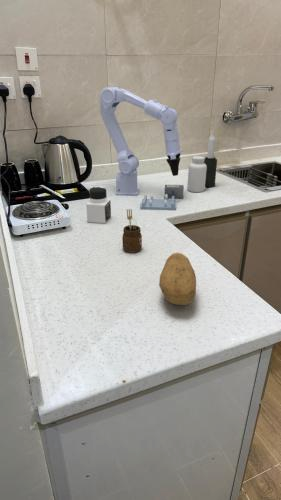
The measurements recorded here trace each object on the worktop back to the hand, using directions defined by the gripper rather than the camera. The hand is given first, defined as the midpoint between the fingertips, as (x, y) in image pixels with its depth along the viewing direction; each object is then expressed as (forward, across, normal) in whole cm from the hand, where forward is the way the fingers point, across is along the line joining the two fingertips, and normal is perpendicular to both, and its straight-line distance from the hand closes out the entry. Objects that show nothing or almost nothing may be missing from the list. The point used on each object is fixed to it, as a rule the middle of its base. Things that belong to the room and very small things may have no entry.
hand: (175, 173), depth 150 cm
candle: (+12, +18, -14) cm, 26 cm away
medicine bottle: (+7, -28, +29) cm, 41 cm away
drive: (+10, 0, +2) cm, 11 cm away
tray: (+10, -11, +8) cm, 17 cm away
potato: (+13, -76, 0) cm, 77 cm away
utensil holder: (+10, -51, +14) cm, 54 cm away
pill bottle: (+12, +11, -8) cm, 18 cm away
